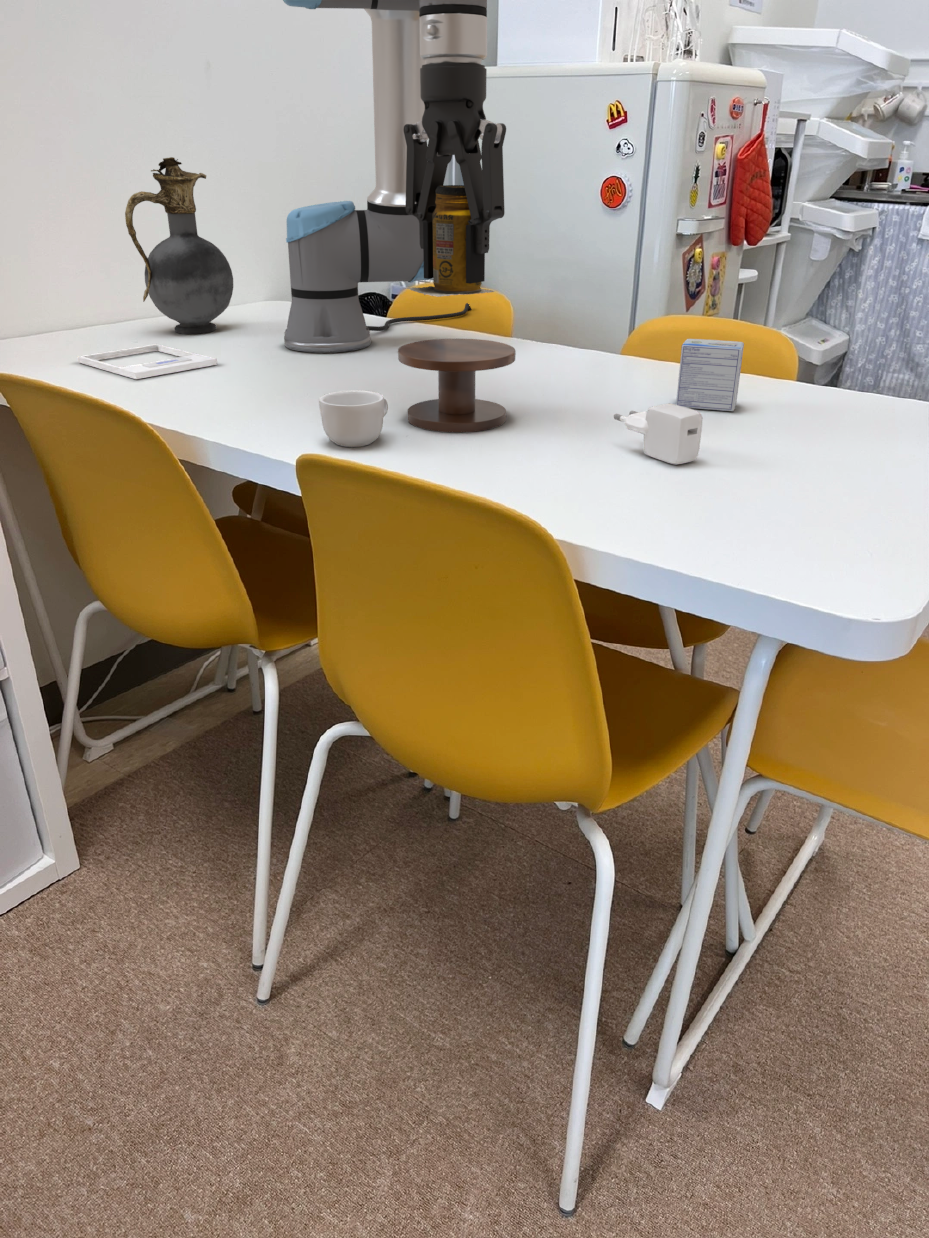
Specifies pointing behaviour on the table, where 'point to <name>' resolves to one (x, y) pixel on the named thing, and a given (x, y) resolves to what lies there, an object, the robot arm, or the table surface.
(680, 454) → the power adapter
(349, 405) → the teacup
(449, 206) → the condiment
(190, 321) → the pitcher
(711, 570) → the table surface
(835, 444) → the table surface
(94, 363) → the photo frame
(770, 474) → the table surface
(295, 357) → the table surface
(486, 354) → the stand
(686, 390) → the medicine box
